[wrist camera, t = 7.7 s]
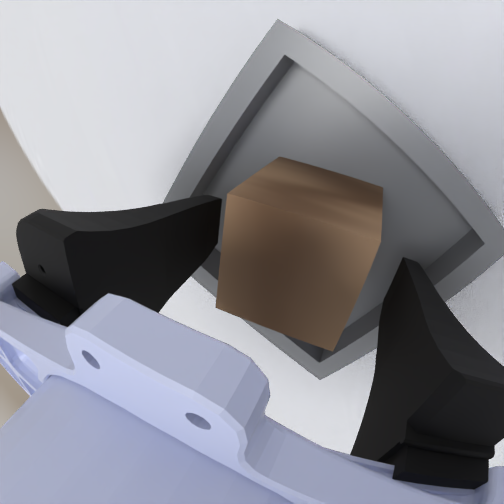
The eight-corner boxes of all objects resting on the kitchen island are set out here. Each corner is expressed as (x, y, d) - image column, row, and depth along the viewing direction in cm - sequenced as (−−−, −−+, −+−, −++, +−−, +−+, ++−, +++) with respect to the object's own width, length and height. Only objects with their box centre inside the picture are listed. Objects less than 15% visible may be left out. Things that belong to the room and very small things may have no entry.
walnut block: (382, 187, 12) (380, 241, 8) (352, 275, 15) (332, 351, 11) (279, 156, 13) (227, 193, 9) (263, 245, 16) (215, 307, 12)
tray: (497, 219, 11) (514, 245, 9) (329, 348, 18) (320, 380, 16) (295, 29, 11) (277, 19, 9) (172, 217, 18) (146, 236, 16)
